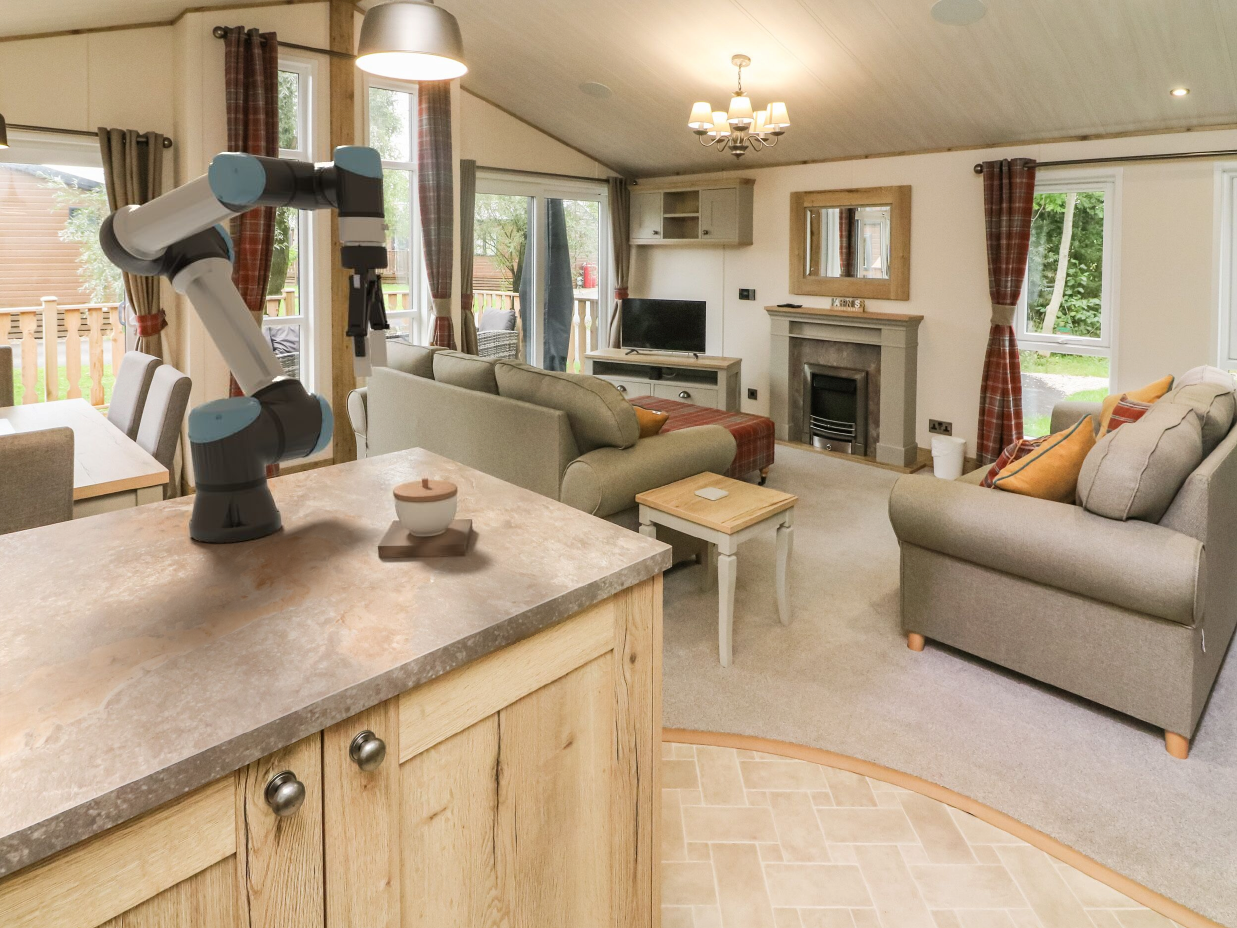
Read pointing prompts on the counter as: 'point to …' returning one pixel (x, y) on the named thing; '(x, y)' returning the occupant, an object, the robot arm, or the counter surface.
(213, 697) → the counter surface
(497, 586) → the counter surface
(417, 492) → the lidded jar
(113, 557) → the counter surface
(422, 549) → the walnut board
